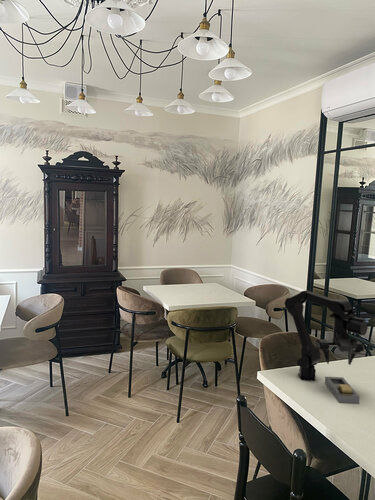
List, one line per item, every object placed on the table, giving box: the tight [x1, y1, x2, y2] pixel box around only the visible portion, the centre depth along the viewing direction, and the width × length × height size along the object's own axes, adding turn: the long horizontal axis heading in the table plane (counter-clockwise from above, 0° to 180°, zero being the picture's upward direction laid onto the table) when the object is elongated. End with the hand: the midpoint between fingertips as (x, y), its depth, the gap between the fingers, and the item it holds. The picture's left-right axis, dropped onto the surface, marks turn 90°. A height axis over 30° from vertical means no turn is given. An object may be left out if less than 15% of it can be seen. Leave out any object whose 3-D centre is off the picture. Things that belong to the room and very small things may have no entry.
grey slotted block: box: [324, 376, 360, 405], centre depth 154 cm, size 8×18×3 cm, turn 176°
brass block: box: [339, 384, 353, 394], centre depth 149 cm, size 4×4×5 cm
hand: (338, 364), depth 155 cm, fingers open, 9 cm apart
